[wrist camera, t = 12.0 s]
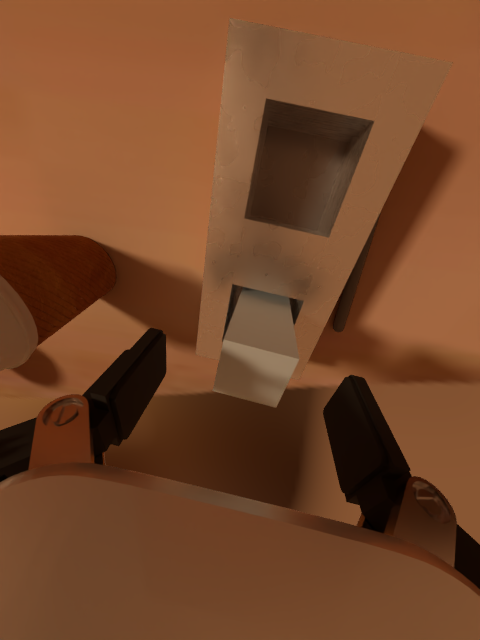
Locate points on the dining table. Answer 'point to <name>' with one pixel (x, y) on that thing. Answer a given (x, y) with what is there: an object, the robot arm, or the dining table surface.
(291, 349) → the plug
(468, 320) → the dining table surface
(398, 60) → the panel
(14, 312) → the disposable coffee cup
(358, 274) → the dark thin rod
